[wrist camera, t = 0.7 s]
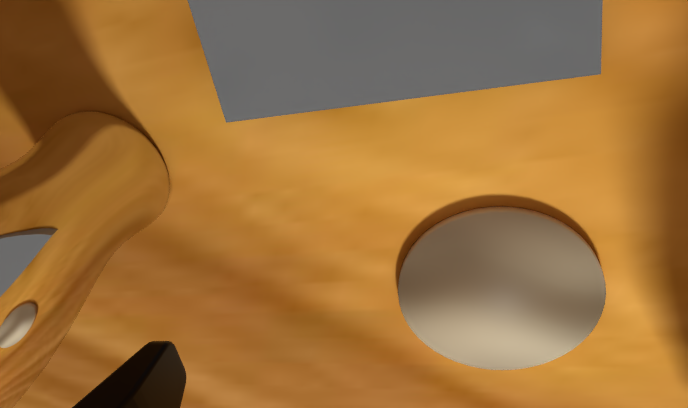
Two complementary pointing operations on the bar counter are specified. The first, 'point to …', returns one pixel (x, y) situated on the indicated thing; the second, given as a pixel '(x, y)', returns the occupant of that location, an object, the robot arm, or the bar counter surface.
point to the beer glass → (67, 231)
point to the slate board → (387, 49)
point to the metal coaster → (501, 288)
